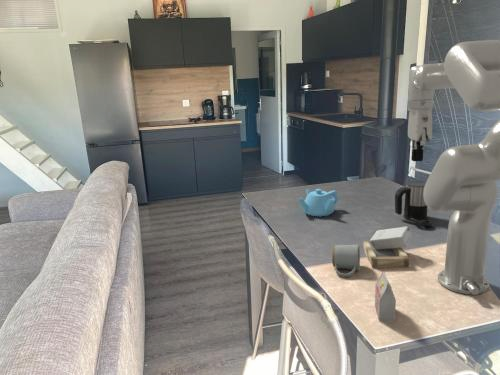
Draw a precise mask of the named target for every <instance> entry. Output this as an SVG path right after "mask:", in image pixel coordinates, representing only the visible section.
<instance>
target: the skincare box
mask: <svg viewBox="0 0 500 375" xmlns="http://www.w3.org/2000/svg"><path fill="white" fill-rule="evenodd" d="M413 236H414V235H413V233H412V231H411V230H410V228H409V226H406V225H405V226H401V227H392V228H386V229H378V230H376V231H375V233H374V234H373V236H372V237H371V238H370V240H369V242H370V245H372V246H371V247H372V248H373V250H390V249H391V248H407V247H408V245H409V243H410V242H411V241H412V239H413Z"/></svg>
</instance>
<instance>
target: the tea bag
mask: <svg viewBox="0 0 500 375" xmlns="http://www.w3.org/2000/svg"><path fill="white" fill-rule="evenodd" d="M381 272H382V273H381V275H380V277H379V279H378V280H377V282H376V283H375V294H374V306H375V307H374V308H375V311H376V315H377V318H378V321H379V322H391V323H394V322H396V306H397V304H396V303H397V302H396V301H397V300H396V296H395V293H394V291H393V289H392V286H391V283H390V281H389V280H388V278H387V275H386V273H385V272H386V271H383V270H381Z"/></svg>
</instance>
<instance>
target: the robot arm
mask: <svg viewBox="0 0 500 375" xmlns="http://www.w3.org/2000/svg"><path fill="white" fill-rule="evenodd" d="M408 72H409V73H408V90H407V91H408V92H407V93H408V95H407V111H409V112H408V122H407V137H408V138H409V139H410V140H411V161H413V162H423V161H424V160H423V159H424V149H425V146H426V144H427V141H429V142H430V141H432V139H433V112H432V110H433V107H434V96H435V95H434V94H435V90H445V89H446V90H448V89H449V90H450V89H455V90H456V92H457V93H458V95H459V96H460V98H461V99H462V100H463V102H464V104H466V105H467V107H468V108H470V109H471V110H473V111H476V112H499V111H500V39H486V40H484V39H483V40H474V41H472V40H471V41H468V40H467V41H462V42H461V41H460V42H459V43H456V44H455V45H453V46H452V47H451V48H450V49H449V50H448V51H447V53H446V56H445V58H444V62H439V63H426V64H421V65H415V66H411V67H410V69H409V71H408ZM425 182H426V184H425V187H424V192H423V197H424V202H425V204H426V205H427V209H429V210H431V211H434V212H439V213H442V212H447V213H448V212H453V213H452V214H451V215H450V218H449V222H448V226H447V238H446V248H445V249H446V250H445V264H444V270H442V271H439V273H438V275H437V281H438V283H439V284H440V285H442V287H444V288H445V289H448V290H449V291H452V292H455V293H458V294H465V295H473V296H474V295H475V296H476V295H481V294H484V293H486V292H488V291H489V290H490V282H489V280H488V279H487V278H486V277H485V276H484V275H485V267H486V258H487V248H488V240H489V232H490V225H491V224H490V223H491V219H492V216H493V215H492V214H493V210H494V208H495V205H496V203H497V199H498V195H499V186H498V183H497V182H500V119H499V120H498V121H496V123H495V124H493V126H492V127H490V129H489V130H488V132H487V134H486V135H485V137H484V139H482V141H480V142H478V143H475V144H466V145H464V144H463V145H456V146H451V147H450V148H447V149H445V150H444V151H443V152H442V153H441V154H440V156H439V158H437V161H436V163H435V165H434V167H433V168H432V171H431V172H430V174H429V175H428V178H427V180H426V181H425Z"/></svg>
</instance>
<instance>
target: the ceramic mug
mask: <svg viewBox="0 0 500 375" xmlns="http://www.w3.org/2000/svg"><path fill="white" fill-rule="evenodd" d="M360 252H361V250H360V245H359V244H337V245H334V246H333V247H332V253H331V263H332V266H333V267H334V270H335V273H336V275H338V276H339V277H341V278H350V277H352V276H353V275H354V274H355V272H356V271H360V268H361V267H360V266H361V265H360V264H361V256H360V254H361V253H360ZM338 269H340V270H341V269H342V270H351V271H350V272H348V273H343V272H340V271H339V270H338Z"/></svg>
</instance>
